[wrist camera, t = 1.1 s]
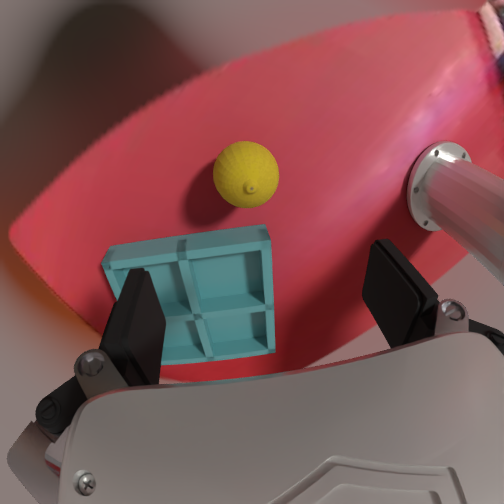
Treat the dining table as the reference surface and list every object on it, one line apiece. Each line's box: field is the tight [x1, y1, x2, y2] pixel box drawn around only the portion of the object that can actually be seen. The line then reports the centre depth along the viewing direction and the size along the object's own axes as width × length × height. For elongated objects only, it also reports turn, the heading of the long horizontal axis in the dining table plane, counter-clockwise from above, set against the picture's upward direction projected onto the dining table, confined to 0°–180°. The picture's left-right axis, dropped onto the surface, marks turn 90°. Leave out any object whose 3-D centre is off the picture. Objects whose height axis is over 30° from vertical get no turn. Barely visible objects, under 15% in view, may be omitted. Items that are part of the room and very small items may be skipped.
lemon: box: [213, 141, 279, 208], centre depth 24 cm, size 6×6×8 cm
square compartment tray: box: [101, 224, 275, 365], centre depth 34 cm, size 18×18×4 cm
